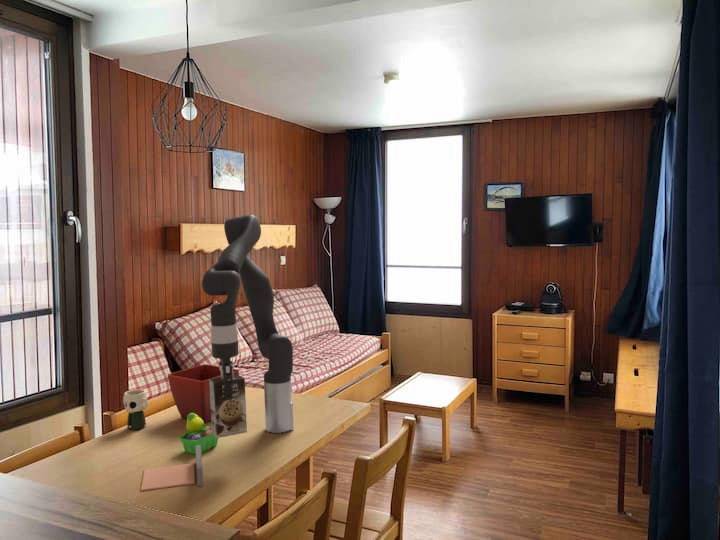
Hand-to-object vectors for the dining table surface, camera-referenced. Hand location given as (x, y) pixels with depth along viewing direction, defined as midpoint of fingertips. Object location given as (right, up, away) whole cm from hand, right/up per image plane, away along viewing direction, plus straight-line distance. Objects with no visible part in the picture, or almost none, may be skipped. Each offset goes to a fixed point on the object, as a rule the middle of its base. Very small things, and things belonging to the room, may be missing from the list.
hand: (227, 395), depth 173 cm
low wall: (-8, -22, -1) cm, 24 cm away
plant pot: (-20, -19, +51) cm, 58 cm away
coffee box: (0, -11, +1) cm, 11 cm away
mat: (-16, -23, -3) cm, 28 cm away
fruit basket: (-13, -21, +19) cm, 31 cm away
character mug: (-41, -20, +40) cm, 60 cm away
